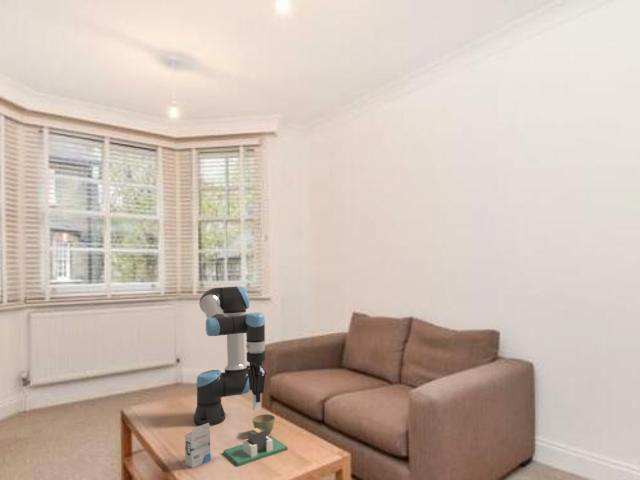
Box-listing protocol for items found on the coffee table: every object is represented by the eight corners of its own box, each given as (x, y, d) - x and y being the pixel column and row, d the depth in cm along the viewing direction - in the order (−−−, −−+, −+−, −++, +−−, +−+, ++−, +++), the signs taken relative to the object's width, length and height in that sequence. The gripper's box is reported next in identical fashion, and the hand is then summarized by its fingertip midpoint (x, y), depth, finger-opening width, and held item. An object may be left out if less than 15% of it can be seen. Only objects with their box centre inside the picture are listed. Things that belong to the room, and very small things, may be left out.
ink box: (203, 456, 173) (202, 419, 173) (211, 460, 170) (210, 422, 170) (184, 464, 166) (184, 426, 167) (192, 468, 163) (191, 429, 164)
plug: (248, 450, 174) (248, 430, 174) (261, 446, 178) (261, 426, 178) (253, 453, 171) (252, 433, 171) (266, 449, 174) (266, 429, 175)
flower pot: (271, 439, 187) (271, 422, 187) (249, 438, 189) (249, 421, 189) (278, 430, 197) (277, 414, 197) (257, 429, 199) (257, 413, 199)
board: (223, 453, 175) (223, 440, 175) (270, 438, 188) (270, 426, 188) (238, 466, 164) (238, 452, 164) (287, 449, 177) (287, 436, 177)
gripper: (240, 349, 179) (241, 406, 178) (255, 355, 168) (256, 416, 168) (256, 347, 183) (257, 402, 183) (271, 352, 173) (272, 411, 172)
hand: (256, 409), depth 175 cm, fingers closed
